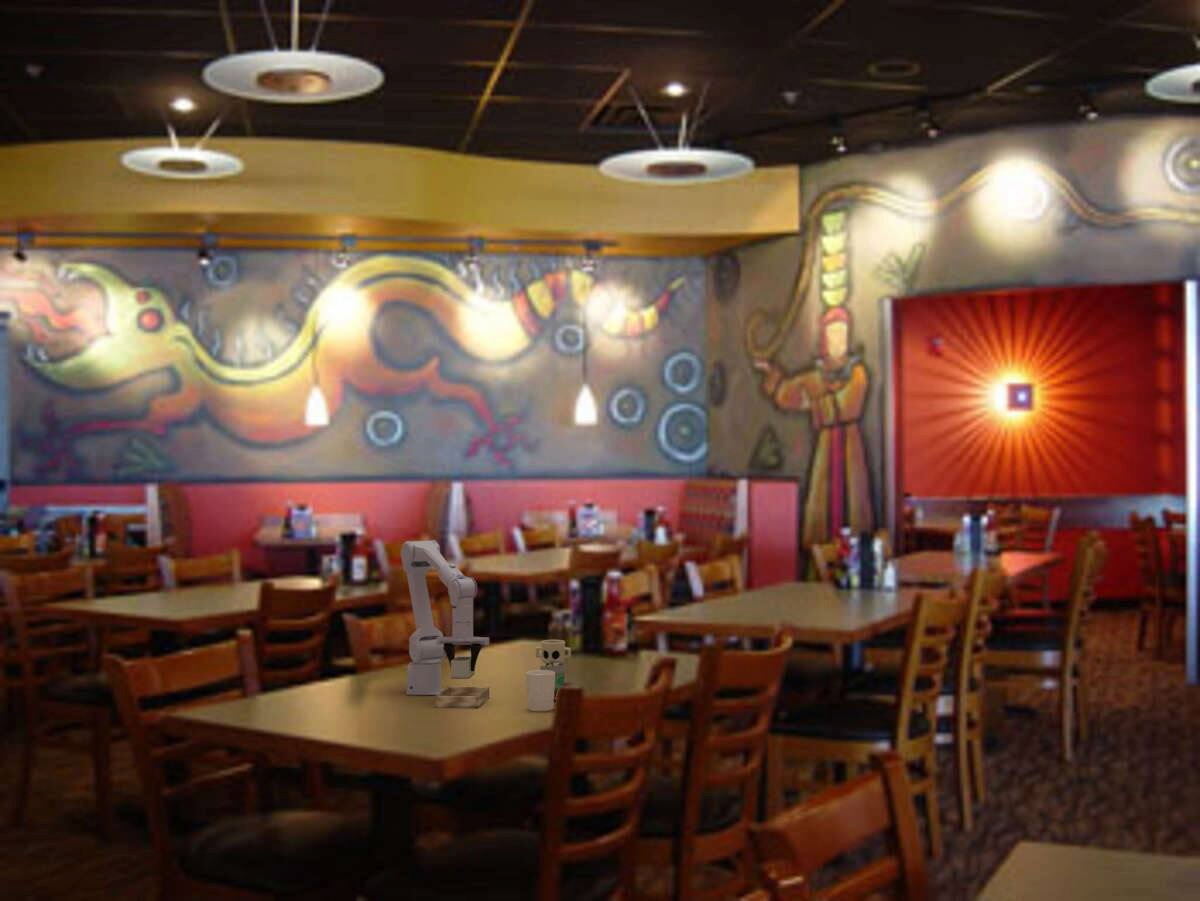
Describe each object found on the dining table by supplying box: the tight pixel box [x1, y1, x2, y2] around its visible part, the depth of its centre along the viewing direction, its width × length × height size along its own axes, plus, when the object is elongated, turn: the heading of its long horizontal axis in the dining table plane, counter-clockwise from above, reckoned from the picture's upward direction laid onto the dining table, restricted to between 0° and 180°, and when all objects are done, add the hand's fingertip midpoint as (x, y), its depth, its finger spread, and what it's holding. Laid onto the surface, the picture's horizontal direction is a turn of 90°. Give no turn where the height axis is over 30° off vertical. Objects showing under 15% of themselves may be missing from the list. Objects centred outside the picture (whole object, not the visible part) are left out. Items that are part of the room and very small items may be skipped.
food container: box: [539, 660, 568, 702], centre depth 393 cm, size 12×6×10 cm, turn 168°
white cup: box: [525, 669, 555, 712], centre depth 378 cm, size 8×8×10 cm
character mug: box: [535, 639, 572, 666], centre depth 418 cm, size 11×7×13 cm, turn 76°
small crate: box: [450, 655, 476, 680], centre depth 388 cm, size 5×8×5 cm, turn 174°
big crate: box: [434, 686, 490, 709], centre depth 388 cm, size 12×16×3 cm
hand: (462, 670), depth 388 cm, fingers closed on small crate, 5 cm apart
